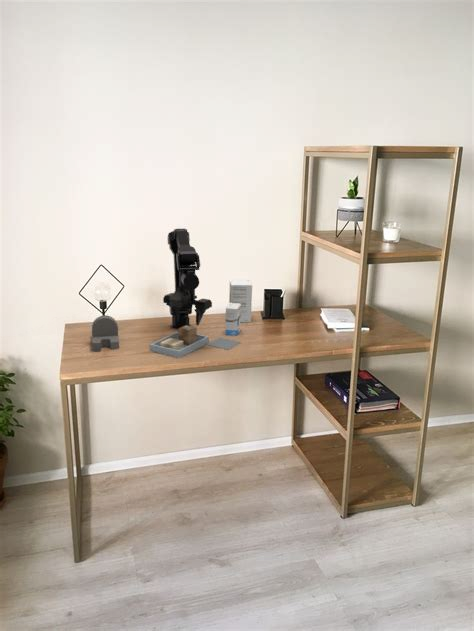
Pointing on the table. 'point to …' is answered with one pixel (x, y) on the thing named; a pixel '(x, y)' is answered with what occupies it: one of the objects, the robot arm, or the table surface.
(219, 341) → the mat
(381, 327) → the table surface
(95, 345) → the bracket
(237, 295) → the supplement box
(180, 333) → the walnut box
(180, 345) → the birch box
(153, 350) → the parts bin
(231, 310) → the ink box
